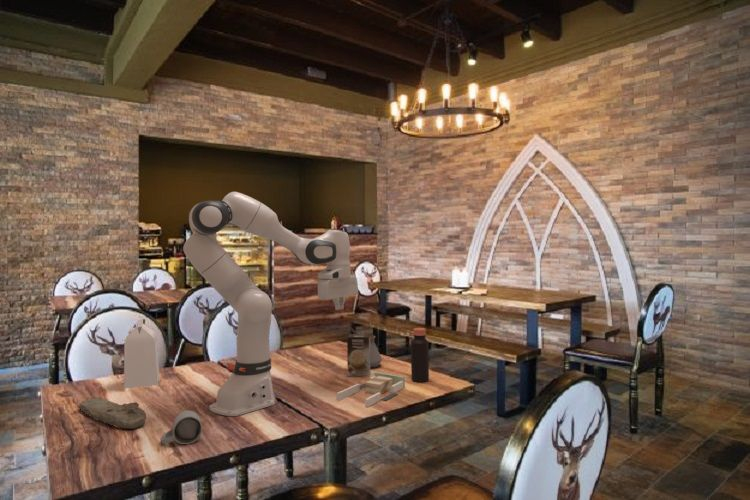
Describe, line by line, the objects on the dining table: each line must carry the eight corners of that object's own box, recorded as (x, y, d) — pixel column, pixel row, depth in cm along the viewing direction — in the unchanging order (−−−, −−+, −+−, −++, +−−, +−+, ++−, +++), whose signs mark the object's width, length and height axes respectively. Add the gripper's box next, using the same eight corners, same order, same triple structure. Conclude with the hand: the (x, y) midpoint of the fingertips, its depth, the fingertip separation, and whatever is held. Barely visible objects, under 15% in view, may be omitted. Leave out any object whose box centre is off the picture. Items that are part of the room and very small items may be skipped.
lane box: (367, 407, 157) (367, 395, 157) (336, 400, 165) (336, 388, 165) (404, 387, 177) (404, 376, 177) (375, 382, 185) (375, 371, 184)
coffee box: (346, 376, 192) (346, 337, 192) (349, 372, 199) (348, 333, 198) (369, 376, 192) (368, 337, 191) (371, 372, 198) (370, 333, 197)
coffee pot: (387, 366, 206) (386, 332, 206) (364, 371, 200) (364, 335, 199) (360, 356, 224) (359, 325, 223) (339, 360, 217) (338, 328, 217)
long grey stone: (101, 406, 167) (70, 416, 159) (100, 391, 167) (68, 401, 159) (156, 422, 147) (124, 435, 139) (155, 405, 147) (122, 417, 139)
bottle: (430, 378, 188) (429, 327, 188) (427, 383, 182) (426, 331, 181) (413, 377, 190) (412, 327, 190) (409, 382, 184) (409, 330, 183)
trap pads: (385, 401, 163) (385, 400, 163) (346, 392, 172) (346, 391, 172) (403, 391, 173) (403, 390, 173) (365, 383, 182) (365, 383, 182)
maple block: (379, 395, 169) (379, 384, 169) (365, 393, 173) (365, 382, 172) (392, 388, 177) (392, 378, 177) (379, 386, 180) (379, 375, 180)
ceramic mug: (200, 431, 140) (199, 405, 140) (203, 441, 133) (201, 414, 132) (160, 438, 136) (159, 411, 135) (161, 450, 128) (159, 421, 128)
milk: (157, 387, 183) (155, 319, 182) (124, 391, 178) (121, 322, 178) (159, 378, 194) (157, 315, 193) (127, 382, 190) (125, 317, 189)
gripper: (348, 270, 189) (349, 305, 190) (314, 274, 172) (315, 312, 173) (361, 270, 186) (362, 306, 186) (327, 274, 169) (328, 313, 169)
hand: (339, 309), depth 179 cm, fingers closed
